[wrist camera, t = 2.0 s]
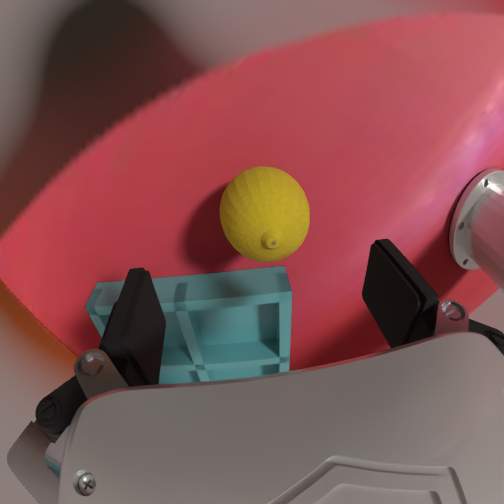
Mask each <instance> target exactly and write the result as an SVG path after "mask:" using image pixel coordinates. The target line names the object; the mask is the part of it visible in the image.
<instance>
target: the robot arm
mask: <svg viewBox="0 0 504 504" xmlns="http://www.w3.org/2000/svg"><path fill="white" fill-rule="evenodd" d="M449 246H450V252H451V254H452V257H453V258H454V260H455V261H456V262H457V263H458V264H459V265H460V266H461V267H462V268H464V269H467V270H473V269H478V268H481V269H482V270H483V271H484V272H485V273H486V274H487V275H488V276H489V277H490V278H491V279H492V280H493V281H494V282H495V284H496V285H497V286H498V287H499V288H500V289H501V290H502V291H503V292H504V171H503V170H501V169H498V168H491V169H487V170H485V171H483V172H481V173H480V174H479V175H478V176H477V177H475V178H474V180H473V181H472V182H471V183H470V184H469V185H468V187H467V188H466V190H465V191H464V193H463V194H462V196H461V198H460V200H459V202H458V204H457V207H456V210H455V212H454V215H453V219H452V222H451V227H450V234H449ZM362 297H363V300H364V302H365V303H366V305H367V307H368V308H369V310H370V312H371V314H372V315H373V317H374V319H375V321H376V322H377V324H378V326H379V328H380V329H381V331H382V333H383V335H384V337H385V338H386V340H387V342H388V344H389V346H390V347H391V349H387V350H384V351H380V352H376V353H372V354H368V355H364V356H360V357H356V358H352V359H348V360H343V361H339V362H334V363H330V364H325V365H320V366H315V367H310V368H304V369H299V370H293V371H287V372H281V373H274V374H268V375H261V376H253V377H245V378H237V379H227V380H217V381H205V382H192V383H177V384H159V376H160V368H161V359H162V352H163V344H164V337H165V330H166V319H165V316H164V313H163V310H162V308H161V305H160V302H159V299H158V296H157V293H156V291H155V288H154V285H153V282H152V278H151V275H150V273H149V271H145V269H144V268H135V269H130V270H129V272H128V274H127V277H126V280H125V282H124V285H123V287H122V290H121V293H120V295H119V298H118V301H117V302H115V303H114V305H113V307H112V310H111V313H110V316H109V319H108V322H107V324H106V327H105V330H104V333H103V336H102V339H101V342H100V346H99V349H91V350H88V351H86V352H84V353H82V354H81V355H80V356H79V357H78V358H77V360H76V362H75V364H74V373H75V376H74V377H72V378H71V379H70V380H68V381H67V382H65V383H64V384H63V385H61V386H60V387H58V388H57V389H56V390H54V391H53V392H51V393H50V394H49V395H47V396H46V397H45V398H43V399H42V400H41V401H40V403H39V404H38V406H37V408H36V421H35V422H32V421H31V422H30V423H29V424H28V426H27V427H26V428H25V429H24V431H23V432H22V433H21V435H20V436H19V437H18V439H17V440H16V441H15V443H14V444H13V446H12V447H11V448H10V450H9V452H8V455H7V462H8V465H9V467H10V469H11V470H12V472H13V473H14V474H15V476H16V477H17V478H18V479H19V481H20V482H21V483H22V484H23V486H25V488H26V489H27V490H28V491H29V493H30V494H31V495H32V496H33V497H34V498H35V499H36V500H37V502H38V503H39V504H504V334H503V333H502V332H501V331H499V330H497V329H495V328H492V327H490V326H487V325H484V324H482V323H479V322H476V321H474V320H471V319H469V315H468V311H467V309H466V307H465V306H464V305H463V304H462V303H460V302H459V301H456V300H454V299H444V300H442V301H441V302H439V301H438V300H437V299H438V294H437V293H436V292H435V291H434V290H433V288H432V287H431V286H430V285H429V284H428V282H427V281H426V280H425V279H424V278H423V277H422V275H421V274H420V273H419V272H418V271H417V270H416V269H415V267H414V266H413V265H412V264H411V263H410V262H409V261H408V260H407V258H406V257H405V256H404V255H403V254H402V253H401V252H400V251H399V250H398V249H397V248H396V246H395V245H394V244H393V243H392V242H391V241H390V240H389V239H381V240H376V241H375V242H374V244H372V245H371V248H370V254H369V260H368V265H367V271H366V276H365V281H364V286H363V290H362Z"/></svg>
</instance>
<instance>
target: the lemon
mask: <svg viewBox="0 0 504 504" xmlns="http://www.w3.org/2000/svg"><path fill="white" fill-rule="evenodd" d="M220 222H221V225H222V228H223V231H224V233H225V236H226V238H227V239H228V241H229V242H230V243H231V245H232V246H233V247H234V248H235V249H236V250H237V251H238V252H239V253H241V254H242V255H243V256H245V257H247V258H249V259H251V260H256V261H260V262H273V261H278V260H281V259H283V258H285V257H288V256H289V255H290V254H292V253H293V252H295V251H296V250H297V249H298V247H299V246H300V245H301V244H302V243H303V241H304V239H305V237H306V235H307V232H308V228H309V223H310V215H309V205H308V202H307V199H306V196H305V193H304V191H303V190H302V188H301V187H300V185H299V184H298V183H297V181H296V180H295V179H293V178H292V177H291V176H290V175H289V174H287V173H286V172H284V171H281V170H279V169H277V168H273V167H267V166H260V167H253V168H250V169H247V170H244V171H243V172H241V173H239V174H238V175H236V176H235V177H234V178H233V179H232V180H231V181H230V183H229V184H228V185H227V187H226V189H225V191H224V193H223V195H222V199H221V203H220Z"/></svg>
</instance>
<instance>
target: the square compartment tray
mask: <svg viewBox="0 0 504 504" xmlns="http://www.w3.org/2000/svg"><path fill="white" fill-rule="evenodd" d="M124 282H125V281H115V282H102V283H97V284H96V286H95V288H94V290H93V292H92V294H91V296H90V298H89V300H88V302H87V304H86V306H85V308H86V310H87V312H88V314H89V316H90V317H91V319H92V321H93V323H94V325H95V327H96V328H97V330H98V332H99V334H100V335H101V337H102V336H103V333H104V330H105V327H106V324H107V322H108V319H109V316H110V313H111V310H112V307H113V305H114V303H115V302H117V301H118V298H119V295H120V293H121V290H122V287H123V285H124ZM152 282H153V285H154V288H155V291H156V293H157V296H158V299H159V302H160V305H161V308H162V310H163V313H164V316H165V319H166V330H165V337H164V344H163V352H162V359H161V368H160V376H159V384H177V383H192V382H205V381H217V380H227V379H237V378H245V377H253V376H261V375H268V374H274V373H281V372H287V371H289V360H290V337H291V308H292V290H291V286H290V283H289V280H288V276H287V273H286V270H285V266H278V267H269V268H259V269H249V270H239V271H229V272H218V273H208V274H197V275H186V276H175V277H164V278H152Z"/></svg>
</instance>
